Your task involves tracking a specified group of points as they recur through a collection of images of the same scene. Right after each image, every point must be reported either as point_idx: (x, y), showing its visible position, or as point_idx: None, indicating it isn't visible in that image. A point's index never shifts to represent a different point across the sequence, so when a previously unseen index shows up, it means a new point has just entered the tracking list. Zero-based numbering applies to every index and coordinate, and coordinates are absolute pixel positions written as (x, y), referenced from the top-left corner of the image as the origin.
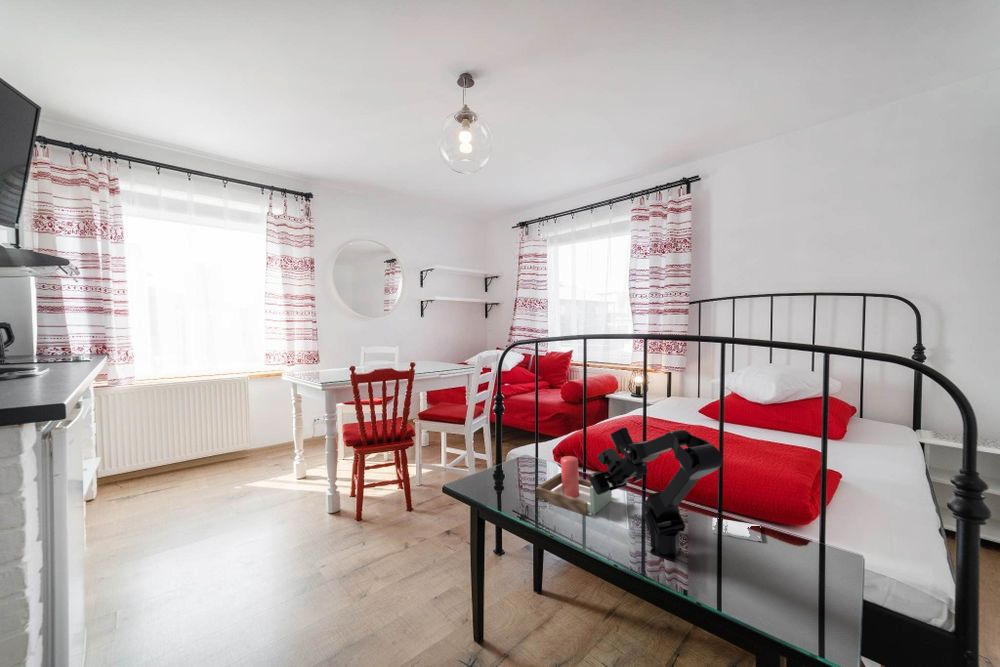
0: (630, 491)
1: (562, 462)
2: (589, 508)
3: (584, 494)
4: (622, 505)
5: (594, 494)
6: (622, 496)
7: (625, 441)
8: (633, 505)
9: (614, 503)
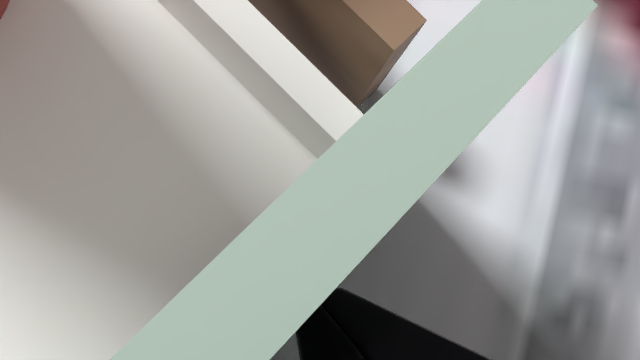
0: (629, 28)
1: None
2: None
3: (83, 9)
4: (482, 312)
5: None
6: (529, 109)
7: None
8: (598, 332)
9: (405, 248)
